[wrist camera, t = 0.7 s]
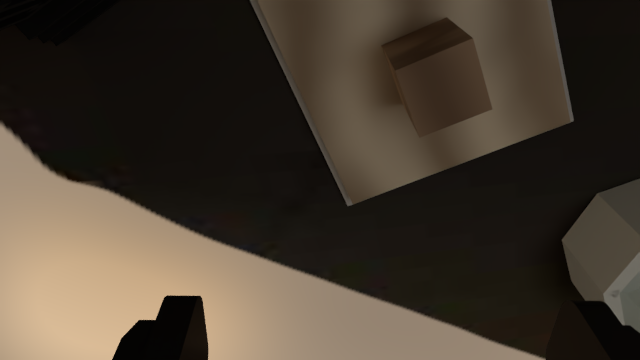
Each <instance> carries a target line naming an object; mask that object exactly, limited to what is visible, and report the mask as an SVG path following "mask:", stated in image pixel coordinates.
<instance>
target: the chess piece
mask: <svg viewBox="0 0 640 360" xmlns="http://www.w3.org/2000/svg"><path fill="white" fill-rule="evenodd" d="M118 1H120V0H0V30H2V29H5V28H7V27H9V26H12V25H14V24H15V25H16V26H17V27H18V28H19V29H20V30H21V31H22V33H23V34H24V35H25V36H26V37H27V38H28V39H29V40H31V39H33V38H35V37H37V36H38V38H39V39H40V40H41V41H42V42H43V43H45V42H47V41H49V40H51V41H52V42H53V43H54V44H55V45H56V46H57V45H59V44H61V43H62V42H64V41H65V40H66V39H68V38H69V37H70V36H72V35H73V34H75V33H76V32H77V31H79V30H80V29H81V28H83V27H84V26H85V25H87V24H88V23H90V22H91V21H92V20H94V19H95V18H96V17H98V16H99V15H101V14H102V13H103V12H105V11H106V10H107V9H109V8H110V7H111V6H113V5H114V4H116V3H117V2H118Z"/></svg>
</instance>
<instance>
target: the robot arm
mask: <svg viewBox="0 0 640 360" xmlns="http://www.w3.org/2000/svg"><path fill="white" fill-rule="evenodd" d="M112 360H208V341H207V332H206V324H205V316H204V309H203V301H202V298H201V296H166V297H165V298H164V300H163V302H162V305H161V307H160V310H159V313H158V316H157V318H156V320H139V321H138V322H137V323H136V324H135V325H134V326H133V327H132V328H131V329H130V330H129V331H128V332H127V333H126V334H125V335H124V336H123V337H122V339H121V341H120V343H119V345H118V348H117V350H116V352H115V354H114V357H113V359H112ZM546 360H640V333H639V332H638V331H637V330H635V329H634V328H633V327H632V326H630V325H622V324H621V322H620V321H619V320H618V318H617V317H616V315H615V314H614V313H613V311H612V310H611V308H610V307H609V306H608V305H607V304H606V303H605V302H603V301H573V300H568V301H565V302H564V303H563V304H562V306H561V308H560V311H559V314H558V317H557V320H556V323H555V325H554V328H553V331H552V334H551V337H550V340H549V343H548V346H547V349H546Z"/></svg>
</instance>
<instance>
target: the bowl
mask: <svg viewBox="0 0 640 360" xmlns="http://www.w3.org/2000/svg"><path fill="white" fill-rule="evenodd" d="M562 243H563V247H564V252H565V256H566V260H567V265H568V269H569V273H570V277H571V281H572V282H573V284H574V285H575V287H576V288H577V289H578V291H579V292H580V294H581V295H582V296H583V298H584V299H585V301H603V302H605V303H606V304H607V305H608V306H609V307H610V308H611V310H612V311H613V313H614V314H615V315H616V317H617V318H618V320H619V321H620V322H621V324H622V325H630V326H632V327H633V328H634V329H635V330H637V331H638V332H639V333H640V179H637V180H634V181H631V182H629V183H626V184H623V185H620V186H617V187H614V188H612V189H609V190H606V191H603V192H600V193H597V194H596V196H595V197H594V198H593V200H592V201H591V202H590V204H589V205H588V206H587V208H586V209H585V210H584V212H583V213H582V214H581V215H580V217H579V218H578V219H577V221H576V222H575V223H574V225H573V226H572V227H571V229H570V230H569V231H568V232H567V234H566V235H565V236H564V238H563V239H562Z"/></svg>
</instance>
